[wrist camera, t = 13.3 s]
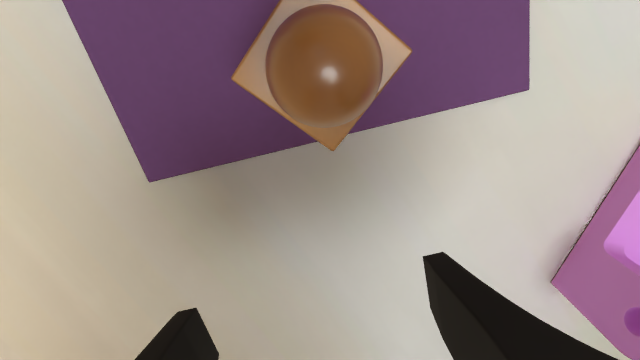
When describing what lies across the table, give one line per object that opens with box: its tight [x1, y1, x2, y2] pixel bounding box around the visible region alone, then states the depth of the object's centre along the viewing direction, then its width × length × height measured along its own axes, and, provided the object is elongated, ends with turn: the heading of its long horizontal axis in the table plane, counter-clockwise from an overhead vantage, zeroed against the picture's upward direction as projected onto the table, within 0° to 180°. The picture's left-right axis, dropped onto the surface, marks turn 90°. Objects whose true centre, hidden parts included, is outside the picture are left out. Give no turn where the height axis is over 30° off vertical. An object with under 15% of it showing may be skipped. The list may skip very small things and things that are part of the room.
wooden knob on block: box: [231, 0, 412, 151], centre depth 12 cm, size 4×4×8 cm
